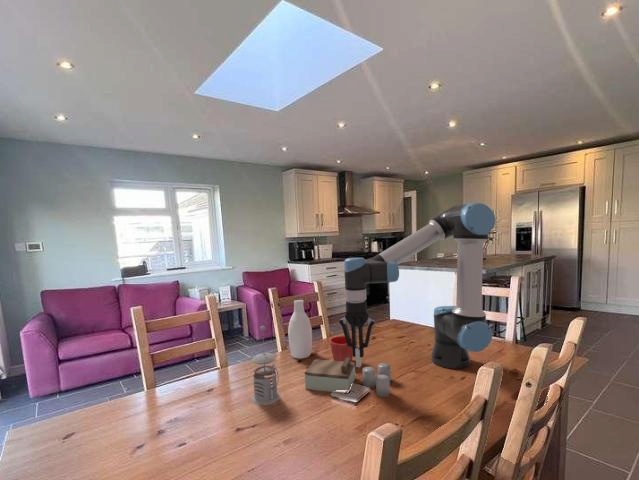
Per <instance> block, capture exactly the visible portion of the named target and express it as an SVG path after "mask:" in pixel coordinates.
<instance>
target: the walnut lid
mask: <svg viewBox="0 0 639 480" xmlns="http://www.w3.org/2000/svg"><path fill="white" fill-rule="evenodd" d="M354 365H355V366H356V361H355V362H354V361H352V362H350V358H348V357H346V359H345V360H344V361H334V360H327V359H319V358H316V359H314V360H313V361H312V362H311V364H310V365H309V366H308V367H307V369H306V370H305V371H304V376H305V375H316V376H327V377H337V378H349V376H350V374H351V371H352V369H353V367H354Z"/></svg>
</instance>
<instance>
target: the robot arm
mask: <svg viewBox="0 0 639 480" xmlns="http://www.w3.org/2000/svg"><path fill="white" fill-rule="evenodd" d="M495 226H496V216H495V213H494V211H493V210H492V209H491V208H490V207H489V206H488V205H487V204H485V203H481V202H469V203H465V204H460V205H455V206H451V207H449V208H447V209H446V210H444V211H443V212H441V213H439V214H438V215H437V216H435V217H434V218H432V219H430V220H429V221H428V224H426V225H425V226H423V227H422V228H420V229H418V230H417V231H415V232H414V233H412V234H410V235H409V236H406V237H405V238H403V239H402V240H400V241H397V242H396V243H395V244H393V245H391V246H390V247H388V248H387V249H385V250H382V251H381V252H380V253H378V254H377V255H375V256H373V257H371V258H367V259H365V258H364V257H347V258H346V259H345V260H344V269H343V271H344V273H343V274H344V289H345V296H344V297H345V315H344V317H343V318H340V319H339V321H338V323H339V324H340V325H341V327H342V332H343V334H344V335H343V336H345V339H346V342H347V346H350V347H352V349H353V358H355V368H361V366H362V358H364V356H365V354H364V353H365V352H364V351H365V350H364V349H365V348H368V346H369V344H370V338H371V335H372V330H373V326H374V324H375V323H376V322H375V321H376V320H375V319H372V318H370V317H369V316H370V315H369V313H368V305H367V304H368V302H367V301H366V300H367V284H368V285H369V284H383V283H384V284H386V283H389V284H390V283H395V282H397V281H398V280H399V279H400V278H399V277H400V269H399V265H400V264H401V263H402V262H404V261H406V260H408V259H409V258H410V257H412V256H414V255H416V254H418V253H419V252H421V251H422V250H424V249H426V248H428V247H429V246H431V245H432V244H435V243H436V242H437V241H444V240H445V239H446V240H447V238H450V237H453V241H455V243H457V259H456V261H457V263H456V264H457V265H456V266H457V267H456V297H455V298H456V301H455V303H456V304H455V305H443V306H437V307H435V308H434V309H433V323H434V324H433V327H434V328H433V329H434V344H433V346H432V351H431V353H430V354H431V355H430V357H431V362H432V363H433V364H435V365H436V366H439V367H442V368H445V369H451V370H453V369H455V370H456V369H465V368H468V367H470V365H471V356H470V353H469V352H472V353H479V352H482V351H484V350H485V349H486V348H487V347H489V345H490V344H491V342H492V340H493V331H492V328H491V327H490V326H489V324H488V323H487V312H485V311H484V310H483V309H482V308H483V307H482V306H483V305H482V303H483V302H482V301H483V298H482V297H483V265H484V263H483V261H484V244H485V243H486V242H487V241H488V240H489V233H490V232H492V230H493V229H494V227H495ZM366 322H367V325H368V326H367V330H366V335H365V338H364V326H365V324H366ZM347 323H348V324H349V326H350V330H351V334H350V331H349V328H348V324H347ZM357 329H358V341H357ZM350 337H351V338H352V341H351V338H350ZM357 342H358V344H357ZM357 345H358V346H357Z"/></svg>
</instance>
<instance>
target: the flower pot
mask: <svg viewBox="0 0 639 480" xmlns="http://www.w3.org/2000/svg"><path fill="white" fill-rule="evenodd" d="M350 338H351V341H352V336H350ZM329 343H330V349H331V354H332V359H333V361H344V360H345V359H346V357H348V358H350V362H353V358H354V357H353V349H352V347H350V346H347V342H346V339H345V335H341V336H340V335H339V336H334V337H331V338H330V339H329Z"/></svg>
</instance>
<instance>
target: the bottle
mask: <svg viewBox="0 0 639 480" xmlns="http://www.w3.org/2000/svg"><path fill="white" fill-rule="evenodd" d="M312 328H313V327H312V324H311V321H310V318H309V316H308V314H306V312H305V308H304V300H303V299H297V300H296V299H295V300H293V313H292V315H291V317H290V319H289V323H288V328H287V329H288V331H287V333H288V334H287V335H288V345H289V350H290V355H291V357H292V358H295V359H298V360H299V359H301V360H302V359H305V358H308V357H310V356H311V354H312V348H313V347H312V344H313V329H312Z"/></svg>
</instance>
